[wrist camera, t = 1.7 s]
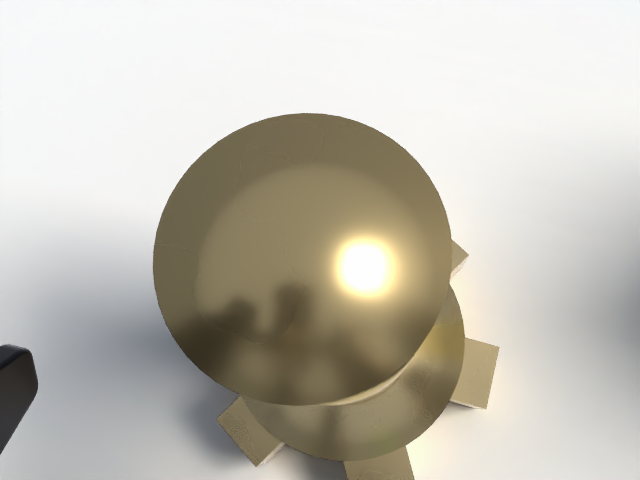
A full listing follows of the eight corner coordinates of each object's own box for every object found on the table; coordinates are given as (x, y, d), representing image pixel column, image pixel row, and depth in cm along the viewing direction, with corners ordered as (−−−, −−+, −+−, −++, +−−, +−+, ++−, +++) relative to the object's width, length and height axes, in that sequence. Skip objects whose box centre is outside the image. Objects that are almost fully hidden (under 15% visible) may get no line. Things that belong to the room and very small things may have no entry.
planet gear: (518, 448, 18) (766, 526, 6) (250, 515, 18) (23, 706, 7) (434, 188, 20) (503, -92, 9) (199, 250, 21) (-28, 55, 9)
